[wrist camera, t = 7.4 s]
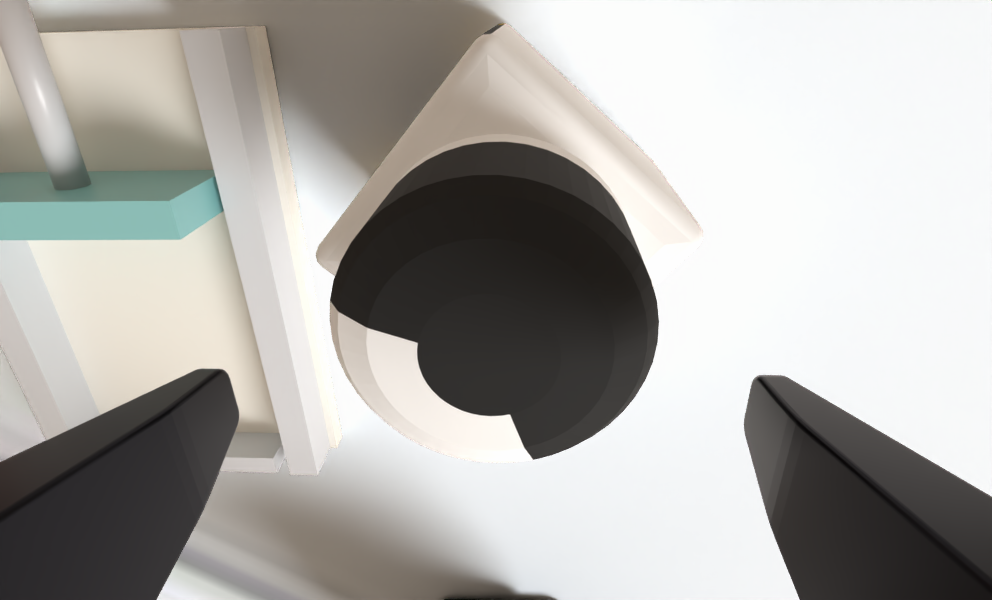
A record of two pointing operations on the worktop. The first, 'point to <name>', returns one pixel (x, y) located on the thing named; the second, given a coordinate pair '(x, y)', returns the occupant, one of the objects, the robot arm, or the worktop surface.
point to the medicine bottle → (504, 264)
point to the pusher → (84, 167)
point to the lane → (172, 247)
